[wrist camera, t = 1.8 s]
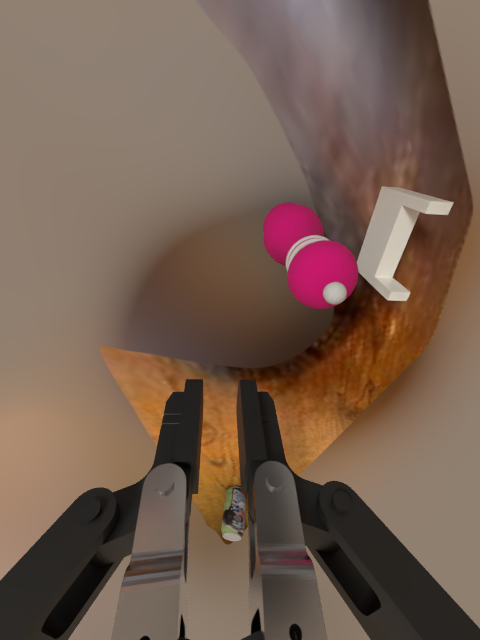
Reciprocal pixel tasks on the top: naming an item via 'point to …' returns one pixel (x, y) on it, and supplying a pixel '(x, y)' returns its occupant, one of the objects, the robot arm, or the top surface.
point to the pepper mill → (309, 256)
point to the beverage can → (234, 514)
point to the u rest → (393, 236)
